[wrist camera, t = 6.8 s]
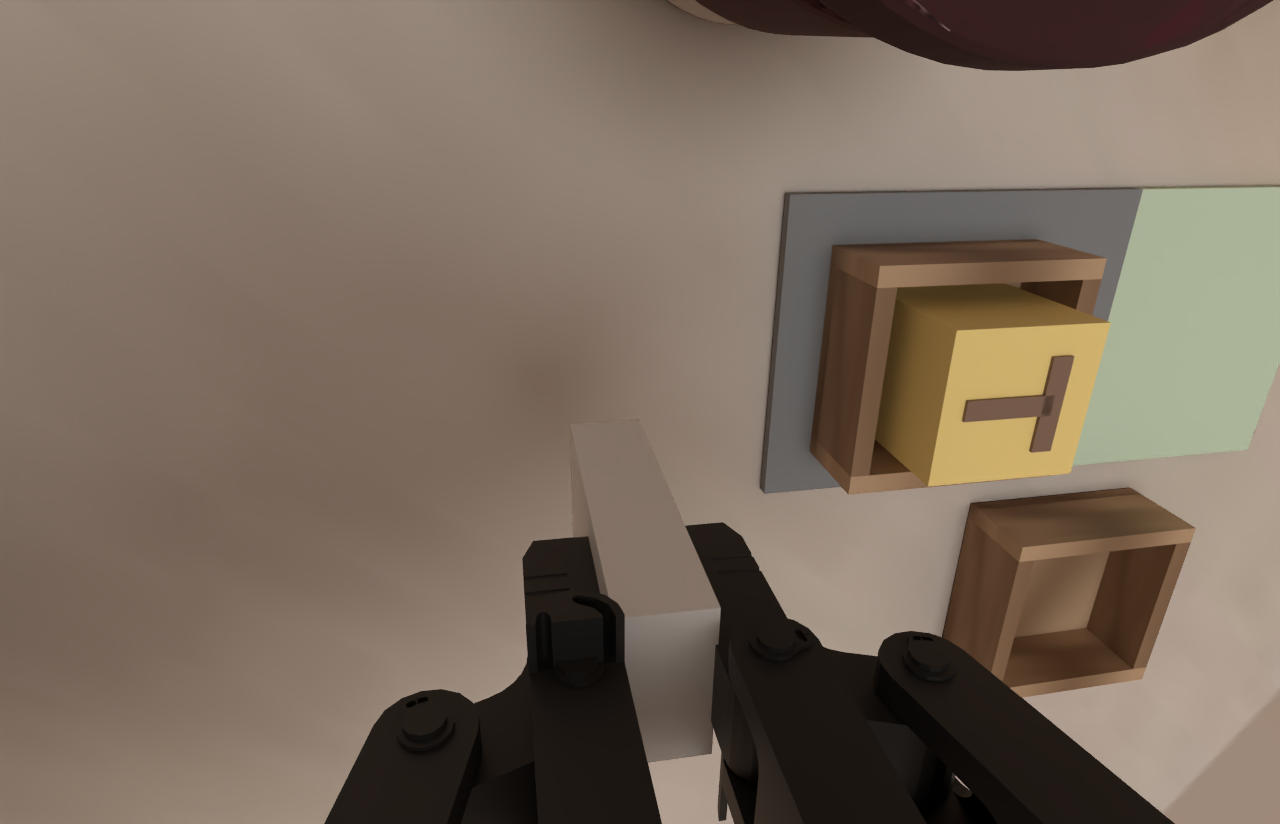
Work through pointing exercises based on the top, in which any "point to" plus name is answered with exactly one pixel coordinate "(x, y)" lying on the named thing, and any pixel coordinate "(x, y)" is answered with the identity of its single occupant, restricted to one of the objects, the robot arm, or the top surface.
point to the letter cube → (986, 382)
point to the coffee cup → (994, 26)
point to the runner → (1128, 298)
